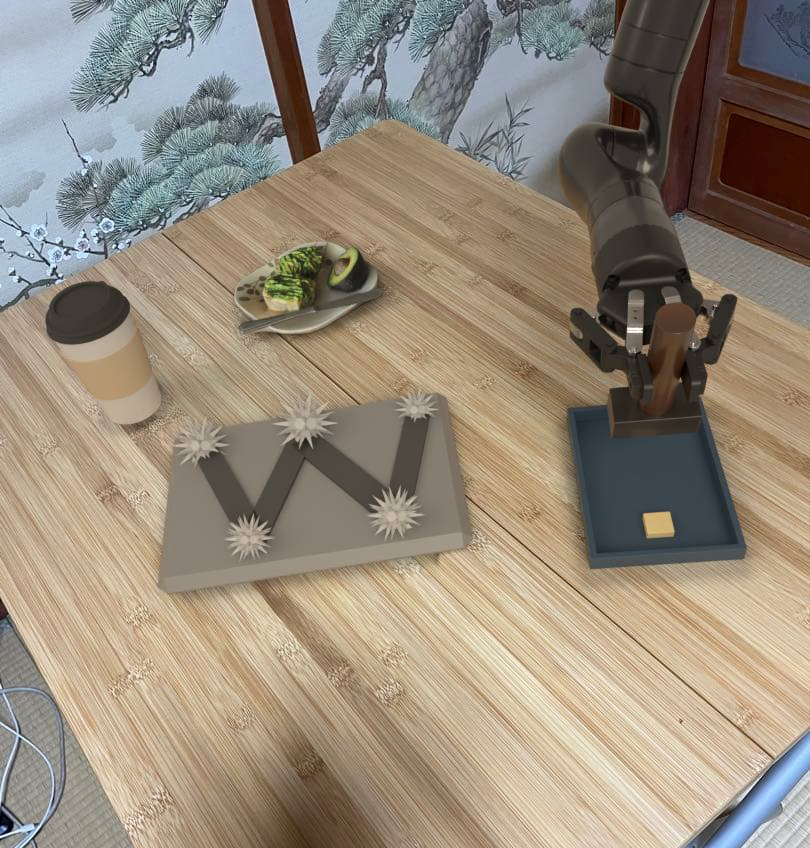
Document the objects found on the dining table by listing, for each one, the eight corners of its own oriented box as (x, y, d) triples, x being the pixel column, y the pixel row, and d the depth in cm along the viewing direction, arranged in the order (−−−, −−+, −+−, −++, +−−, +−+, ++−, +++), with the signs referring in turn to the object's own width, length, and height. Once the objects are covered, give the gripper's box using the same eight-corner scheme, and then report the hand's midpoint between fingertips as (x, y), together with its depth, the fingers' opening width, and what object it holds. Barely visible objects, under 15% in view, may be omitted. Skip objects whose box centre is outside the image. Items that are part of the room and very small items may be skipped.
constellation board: (162, 604, 79) (133, 559, 74) (179, 445, 93) (156, 397, 87) (475, 555, 78) (470, 505, 72) (446, 401, 91) (440, 349, 86)
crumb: (642, 518, 77) (643, 512, 76) (669, 516, 76) (669, 510, 76) (646, 539, 75) (647, 533, 75) (673, 537, 75) (674, 531, 74)
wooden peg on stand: (606, 404, 72) (622, 303, 60) (690, 398, 71) (722, 293, 59) (611, 439, 70) (628, 342, 59) (696, 432, 70) (731, 332, 58)
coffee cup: (111, 443, 94) (49, 336, 83) (85, 401, 99) (24, 295, 88) (183, 406, 97) (133, 298, 85) (154, 367, 102) (103, 260, 90)
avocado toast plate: (279, 371, 98) (269, 340, 95) (203, 310, 108) (191, 280, 104) (404, 293, 104) (399, 261, 101) (321, 242, 114) (314, 211, 110)
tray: (566, 425, 87) (567, 407, 85) (697, 414, 85) (701, 396, 83) (589, 575, 75) (590, 559, 73) (742, 565, 73) (747, 548, 71)
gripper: (556, 231, 71) (577, 364, 60) (727, 213, 69) (780, 347, 58) (555, 304, 77) (574, 438, 66) (712, 290, 75) (759, 424, 64)
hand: (671, 394), depth 62 cm, fingers closed on wooden peg on stand, 3 cm apart
